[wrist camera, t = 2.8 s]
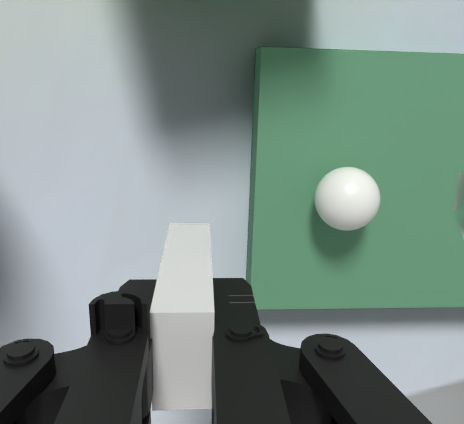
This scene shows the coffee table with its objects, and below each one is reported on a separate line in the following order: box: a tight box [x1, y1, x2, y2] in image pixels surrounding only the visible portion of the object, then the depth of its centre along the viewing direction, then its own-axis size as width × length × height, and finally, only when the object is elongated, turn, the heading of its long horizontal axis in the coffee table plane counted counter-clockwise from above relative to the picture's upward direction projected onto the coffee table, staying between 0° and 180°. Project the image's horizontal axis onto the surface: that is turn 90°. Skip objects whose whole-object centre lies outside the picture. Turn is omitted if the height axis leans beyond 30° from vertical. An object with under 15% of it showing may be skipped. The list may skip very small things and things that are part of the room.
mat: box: [246, 47, 464, 310], centre depth 28 cm, size 24×16×2 cm, turn 89°
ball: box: [314, 167, 380, 231], centre depth 25 cm, size 4×4×4 cm
